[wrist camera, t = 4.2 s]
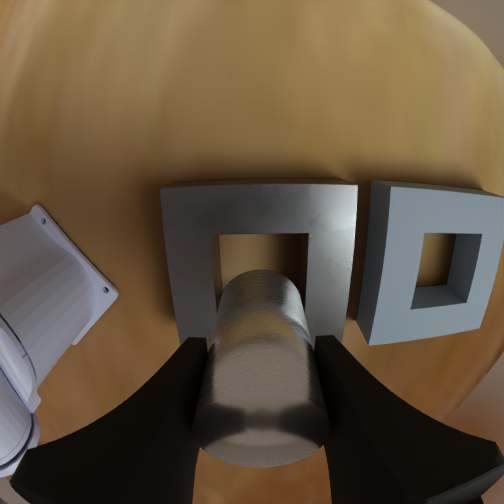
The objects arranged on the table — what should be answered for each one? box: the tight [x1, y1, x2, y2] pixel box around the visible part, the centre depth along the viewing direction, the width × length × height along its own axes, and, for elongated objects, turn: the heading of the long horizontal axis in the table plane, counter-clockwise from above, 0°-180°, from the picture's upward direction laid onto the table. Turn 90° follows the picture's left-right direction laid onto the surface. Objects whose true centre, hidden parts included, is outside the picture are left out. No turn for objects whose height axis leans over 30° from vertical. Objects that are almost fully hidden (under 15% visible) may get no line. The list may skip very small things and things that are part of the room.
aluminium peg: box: [192, 270, 330, 467], centre depth 10 cm, size 4×4×7 cm
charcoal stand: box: [160, 178, 358, 352], centre depth 17 cm, size 10×10×3 cm
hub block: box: [356, 180, 504, 346], centre depth 17 cm, size 10×10×3 cm
